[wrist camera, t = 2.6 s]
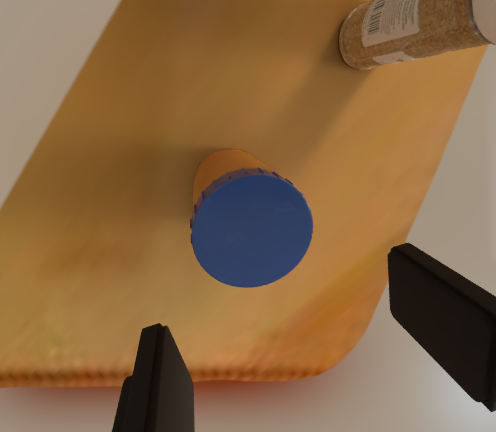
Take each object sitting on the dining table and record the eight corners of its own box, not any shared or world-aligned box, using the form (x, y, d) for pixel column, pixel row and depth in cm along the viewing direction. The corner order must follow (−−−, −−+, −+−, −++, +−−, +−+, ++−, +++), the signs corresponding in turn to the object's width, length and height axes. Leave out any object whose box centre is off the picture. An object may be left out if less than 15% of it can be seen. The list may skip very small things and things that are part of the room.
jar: (202, 139, 23) (211, 162, 14) (276, 160, 25) (322, 191, 16) (185, 213, 25) (183, 272, 16) (254, 227, 27) (285, 286, 18)
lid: (206, 152, 15) (208, 158, 14) (319, 182, 17) (332, 190, 16) (179, 264, 17) (178, 280, 16) (282, 279, 19) (290, 295, 18)
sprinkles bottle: (364, 82, 24) (552, 63, 11) (325, 44, 22) (495, -25, 10) (401, 31, 23) (650, -50, 11) (363, -13, 21) (604, -169, 9)
